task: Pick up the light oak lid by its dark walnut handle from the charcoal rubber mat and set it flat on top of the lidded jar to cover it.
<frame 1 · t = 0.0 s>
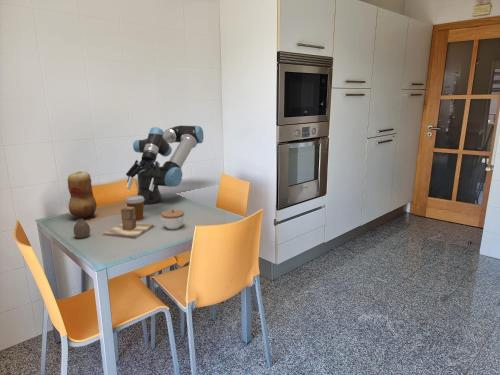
hand: (139, 189, 189), 15 cm above the table, tool tilted 35°, fingers open, 13 cm apart
vase: (82, 237, 165), on the table
lidded jar: (173, 228, 176), on the table
butternut squash: (84, 218, 193), on the table
disposable coffee cup: (136, 219, 189), on the table
rubber mat: (129, 231, 172), on the table
oak lid: (129, 230, 172), resting on rubber mat
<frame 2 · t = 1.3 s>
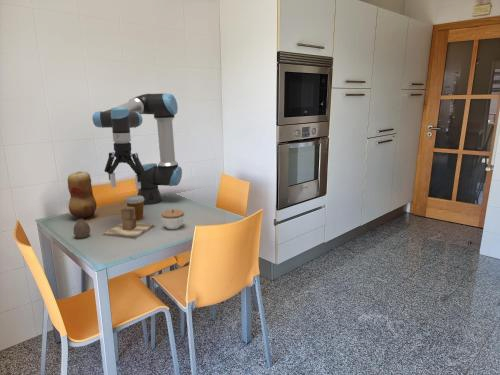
hand: (125, 188, 167), 21 cm above the table, tool pointing down, fingers open, 13 cm apart
nothing on the table moved.
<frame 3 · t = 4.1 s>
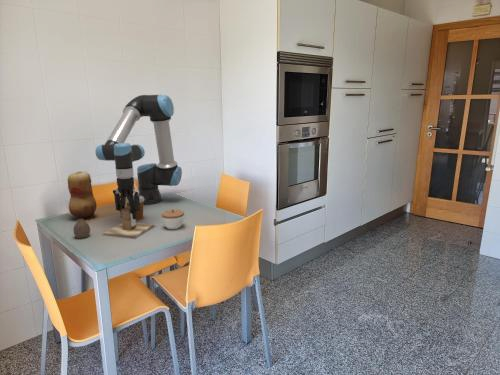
hand: (129, 224, 171), 3 cm above the table, tool pointing down, fingers closed on oak lid, 4 cm apart
oak lid: (129, 230, 172), resting on rubber mat, touching gripper
everything else where it was.
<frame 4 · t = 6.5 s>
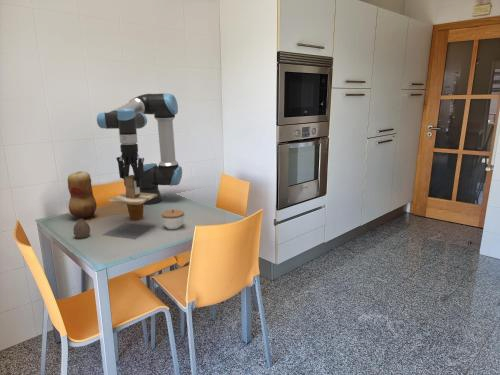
hand: (133, 193, 168), 19 cm above the table, tool pointing down, fingers closed on oak lid, 4 cm apart
oak lid: (133, 199, 169), point 16 cm above the table, touching gripper
everything else where it was.
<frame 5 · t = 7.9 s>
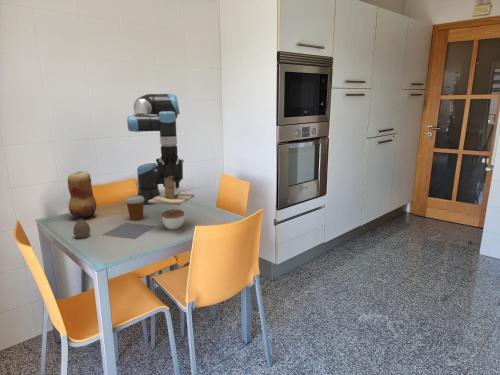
hand: (171, 194, 172), 17 cm above the table, tool pointing down, fingers closed on oak lid, 4 cm apart
oak lid: (172, 199, 173), point 14 cm above the table, touching gripper
everything else where it was.
when the fingers open (13 cm above the table, at t = 9.1 s): oak lid stays where it is, resting on lidded jar.
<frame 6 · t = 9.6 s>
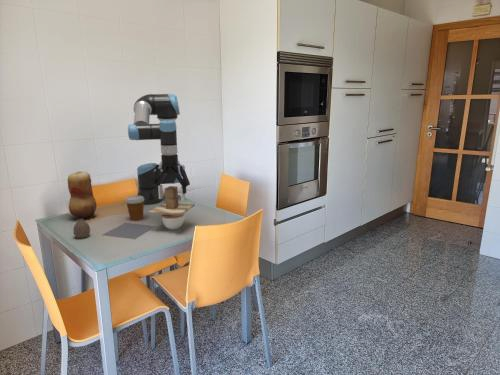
hand: (172, 199, 173), 15 cm above the table, tool pointing down, fingers open, 11 cm apart
lidded jar: (173, 228, 176), on the table, touching oak lid
oak lid: (172, 209, 174), point 9 cm above the table, touching lidded jar
everything else where it was.
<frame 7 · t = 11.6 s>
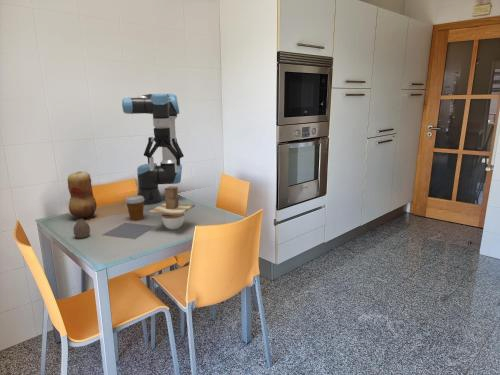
hand: (164, 171, 176), 27 cm above the table, tool pointing down, fingers open, 13 cm apart
nothing on the table moved.
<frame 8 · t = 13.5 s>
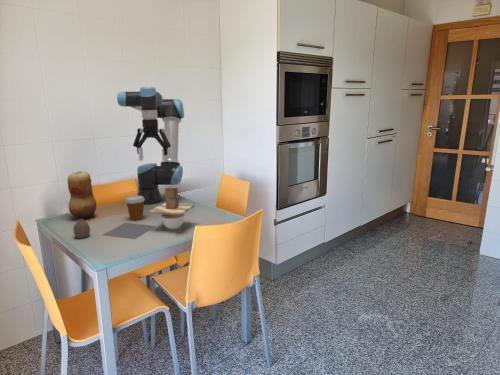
hand: (152, 161, 184), 31 cm above the table, tool pointing down, fingers open, 13 cm apart
nothing on the table moved.
at the end: oak lid 0.0 cm from the lidded jar (horizontally); oak lid point 9.4 cm above the table; oak lid tilted 1° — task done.
